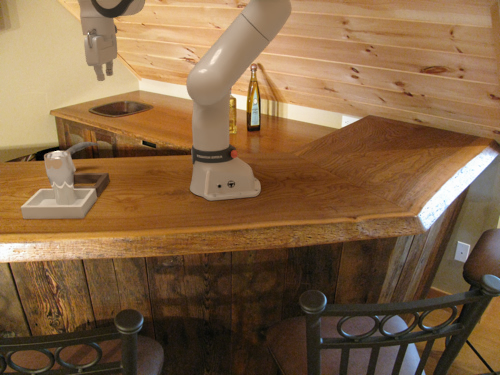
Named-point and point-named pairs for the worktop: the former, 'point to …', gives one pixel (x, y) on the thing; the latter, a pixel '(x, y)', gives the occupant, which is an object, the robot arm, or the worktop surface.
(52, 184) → the beer glass
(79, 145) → the inkwell
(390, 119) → the worktop surface
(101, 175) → the walnut collar
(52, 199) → the cream white tray
